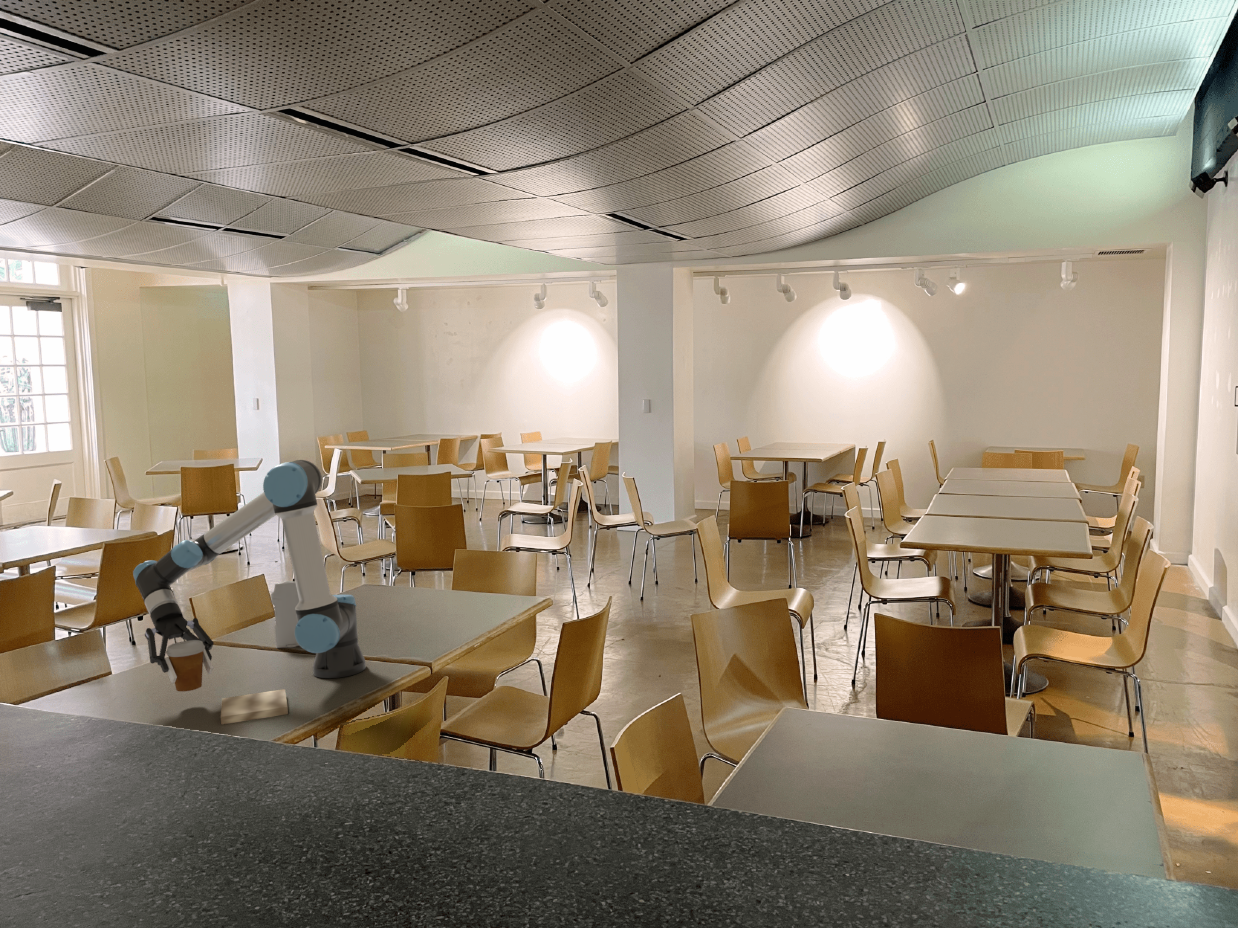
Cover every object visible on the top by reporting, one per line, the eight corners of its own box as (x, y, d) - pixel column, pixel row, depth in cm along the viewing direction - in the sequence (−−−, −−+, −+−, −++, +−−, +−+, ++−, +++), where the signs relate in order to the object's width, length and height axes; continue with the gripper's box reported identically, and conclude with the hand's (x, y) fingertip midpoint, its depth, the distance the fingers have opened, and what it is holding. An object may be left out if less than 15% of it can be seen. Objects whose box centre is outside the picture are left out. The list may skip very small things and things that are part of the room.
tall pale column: (274, 649, 302) (269, 583, 301) (274, 646, 306) (270, 581, 305) (308, 645, 306) (303, 580, 304) (308, 642, 310) (304, 578, 308)
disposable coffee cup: (180, 695, 241) (176, 651, 240) (163, 690, 247) (158, 646, 246) (215, 685, 249) (211, 642, 248) (197, 680, 255) (193, 638, 254)
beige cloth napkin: (285, 695, 254) (285, 688, 254) (287, 713, 239) (287, 706, 239) (222, 705, 248) (222, 698, 248) (221, 724, 233) (220, 716, 233)
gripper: (200, 609, 265) (229, 672, 255) (119, 626, 249) (147, 694, 240) (206, 593, 261) (236, 657, 251) (124, 609, 245) (153, 678, 236)
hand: (192, 675), depth 246 cm, fingers closed on disposable coffee cup, 9 cm apart
